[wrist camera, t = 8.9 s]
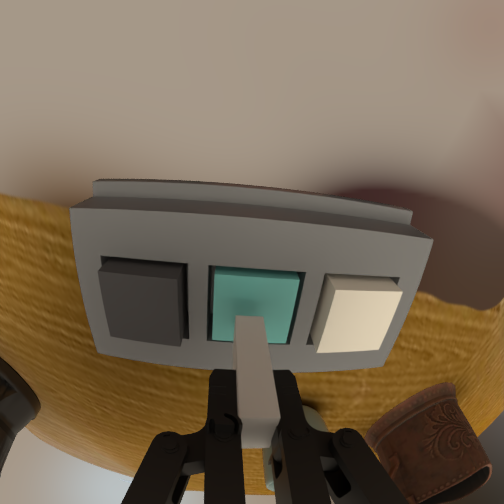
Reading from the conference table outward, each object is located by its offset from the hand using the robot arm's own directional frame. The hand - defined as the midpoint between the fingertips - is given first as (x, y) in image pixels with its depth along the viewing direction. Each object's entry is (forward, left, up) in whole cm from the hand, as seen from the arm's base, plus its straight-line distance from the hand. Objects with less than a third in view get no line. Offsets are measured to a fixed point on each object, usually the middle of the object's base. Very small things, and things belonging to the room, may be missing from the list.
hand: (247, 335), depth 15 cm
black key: (-7, 0, -4) cm, 8 cm away
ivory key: (+7, 0, -4) cm, 9 cm away
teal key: (0, 0, -5) cm, 5 cm away
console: (0, 0, -7) cm, 7 cm away
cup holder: (+28, -26, -7) cm, 39 cm away
